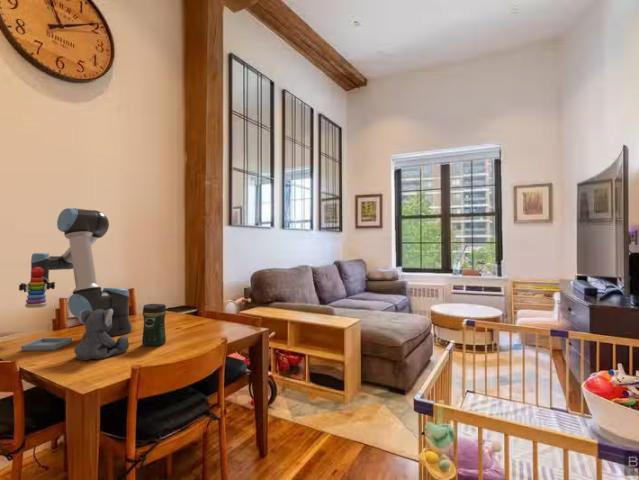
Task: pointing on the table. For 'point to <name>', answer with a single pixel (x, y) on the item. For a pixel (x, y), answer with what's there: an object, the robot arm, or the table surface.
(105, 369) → the table surface
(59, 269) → the robot arm
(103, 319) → the koala plush
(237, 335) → the table surface
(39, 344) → the tray
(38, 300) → the stacking toy
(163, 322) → the coffee jar
